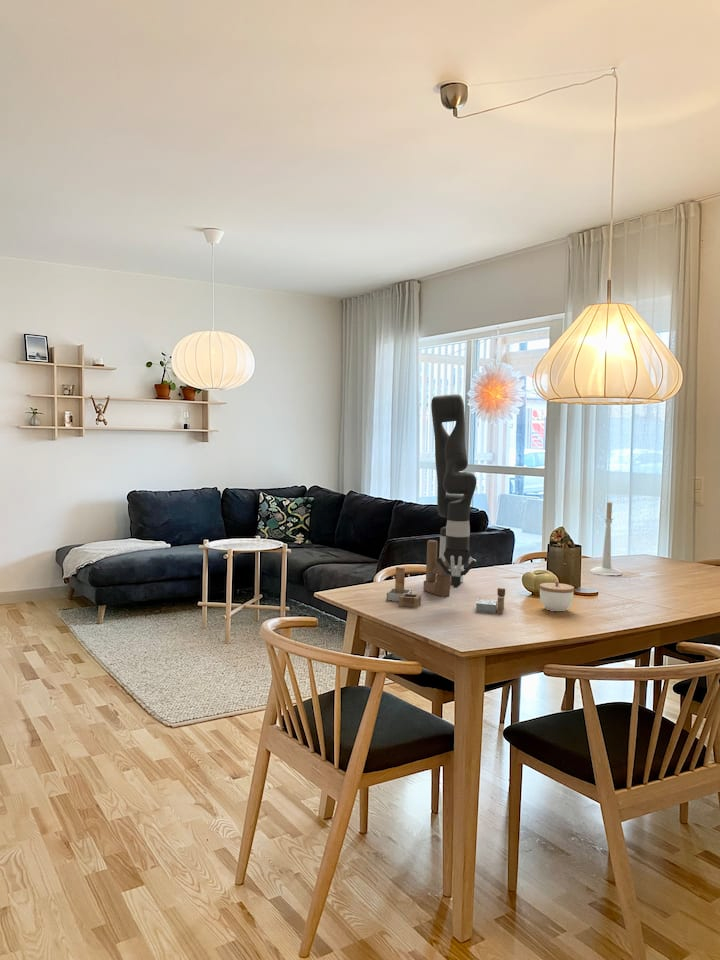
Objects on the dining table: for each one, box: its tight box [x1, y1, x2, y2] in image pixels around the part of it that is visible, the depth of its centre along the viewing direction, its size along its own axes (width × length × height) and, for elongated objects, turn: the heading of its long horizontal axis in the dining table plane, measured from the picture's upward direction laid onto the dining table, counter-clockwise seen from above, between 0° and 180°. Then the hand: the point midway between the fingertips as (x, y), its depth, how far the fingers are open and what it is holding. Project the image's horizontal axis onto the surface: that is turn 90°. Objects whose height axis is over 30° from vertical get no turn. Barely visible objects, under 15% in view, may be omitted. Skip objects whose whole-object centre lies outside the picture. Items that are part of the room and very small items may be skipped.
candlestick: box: [589, 501, 622, 573], centre depth 309 cm, size 13×13×30 cm
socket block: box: [398, 593, 422, 608], centre depth 240 cm, size 6×6×3 cm
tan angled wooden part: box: [422, 539, 451, 597], centre depth 259 cm, size 4×11×18 cm, turn 31°
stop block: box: [496, 587, 506, 615], centre depth 236 cm, size 9×2×7 cm, turn 166°
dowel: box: [394, 566, 406, 594], centre depth 248 cm, size 3×3×10 cm
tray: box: [385, 587, 413, 602], centre depth 249 cm, size 8×7×2 cm
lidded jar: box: [539, 580, 575, 612], centre depth 240 cm, size 11×11×9 cm
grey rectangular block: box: [475, 598, 498, 614], centre depth 236 cm, size 7×6×3 cm
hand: (455, 587), depth 241 cm, fingers closed
